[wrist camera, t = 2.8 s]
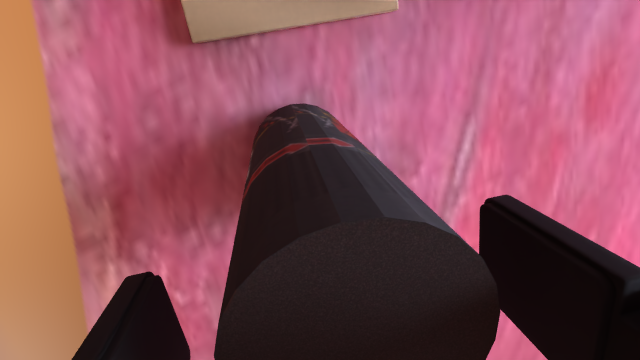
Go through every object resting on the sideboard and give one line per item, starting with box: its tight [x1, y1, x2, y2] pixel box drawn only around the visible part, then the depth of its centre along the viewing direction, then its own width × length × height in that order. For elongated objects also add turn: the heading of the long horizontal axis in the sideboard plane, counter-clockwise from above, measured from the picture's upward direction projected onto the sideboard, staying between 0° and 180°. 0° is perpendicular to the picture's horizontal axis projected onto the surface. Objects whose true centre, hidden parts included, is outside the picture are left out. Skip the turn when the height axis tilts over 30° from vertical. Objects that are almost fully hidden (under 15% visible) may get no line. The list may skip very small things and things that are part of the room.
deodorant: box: [214, 104, 500, 360], centre depth 14 cm, size 6×6×15 cm
